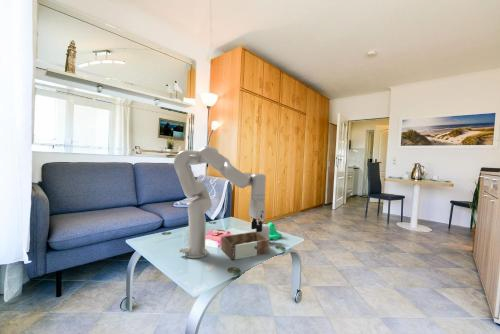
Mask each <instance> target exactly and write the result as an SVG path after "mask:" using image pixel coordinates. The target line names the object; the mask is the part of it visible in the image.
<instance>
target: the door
mask: <svg viewBox="0 0 500 334" xmlns="http://www.w3.org/2000/svg"><path fill="white" fill-rule="evenodd" d="M257 249H258V247H257V241H255V242H250V243H244V244H238V245H234V248H233V260H238V259H242V258H247V257H252V256H258V255H257Z"/></svg>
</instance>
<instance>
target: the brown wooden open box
mask: <svg viewBox="0 0 500 334" xmlns="http://www.w3.org/2000/svg"><path fill="white" fill-rule="evenodd" d="M220 239H221V241H220V243H221V245H220V250H221V251H222V252H223V254H225V256H226V257H228V259H229V260H230V261H234V259H233V258H234V245H238V244H244V243H250V242H255V241H257V247H258V249H257V255H256V256H260V255H261V256H262V255H266V254H269V253H270V252H269V251H270V239H267V238H265V237H264V236H262V235H261V234H259V233H257V232H256V231H255V230H254V231H250V232H249V231H248V232H244V233H236V234H229V235H224V236H221V238H220Z"/></svg>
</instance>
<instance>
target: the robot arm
mask: <svg viewBox="0 0 500 334" xmlns="http://www.w3.org/2000/svg"><path fill="white" fill-rule="evenodd" d="M201 164H207V165H208V166H209V167H210V166H211V168H212V169H213V168H214V169H215V170H216V171H217V172H219V173H220V175H222V176H223V177H224V178H225V179H226V180H227V181H228V182H230V183H232V184H233V185H234V186H236V187H238V188H240V189H241V188H242V189H244V188H246V187H250V188H251V189H250V201H249V206H248V207H249V208H248V215H249V217H250V221H251V225H250V226H251V230H255V229H256V232H262V225H263V224H264V222H266V219H265V217H266V202H265V201H266V182H267V181H266V179H267V177H266V175H265V174H264V173H262V174H261V173H249V172H243V171H241V170H239V169H238V168H236V167H235V166H234V165H232V163H231V161H230V160H229V159H228V158H227V157H226V156H224V155H222V154H221V153H220V152H219V150H218V149H217V148H216V147H213V146H203V147H202V148H200V149H197V150H190V149H185V150H181V151H179V152H178V153H177V154H176V155H175V157H174V161H173V167H174V169H175V172H176V175H177V177H178V180H179V183H180V186H181V189H182V191H183V194H184V195H185V197H186V198H189V199H193V198H194V199H193V200H192V201H190V202H189V204H188V206H187V214H188V215H187V216H188V217H187V218H188V238H187V239H188V242H187V244H188V245H186V246H185V248H179V251H178V252H179V253H182V254H184V255H185V257H186V258H189V259H193V260H194V259H195V260H196V259H201V258H204V257H206V256H207V255H208V254H209V252H208V249H207V248H206V236H207V235H206V234H207V233H206V230H207V229H206V228H207V222H206V221H207V220H206V215H205V214H206V213H207V212H209V211H210V210H211V208H212V203H213V202H212V200H211V197H210V193H209V191H208V189H207V186H206V185H205V183H204V182H203V181H201V180H199V179H196V177H195V174H194V172H193V170H192V169H191V168H190V167H191V166H192V165H195V166H196V165H201Z"/></svg>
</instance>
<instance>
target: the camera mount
mask: <svg viewBox="0 0 500 334" xmlns="http://www.w3.org/2000/svg"><path fill="white" fill-rule="evenodd" d="M266 225H269V227H270V233H269V240H273V241H274V240H278V239H279V238H282V237H283V234H282V233H280V232H278V230H277V229H276V225H275V223H273V222H271V221H269V222H268V223H267V224H266Z"/></svg>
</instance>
